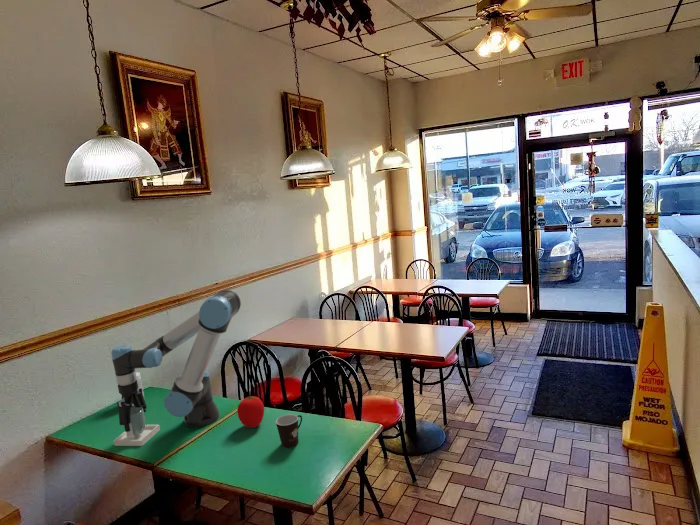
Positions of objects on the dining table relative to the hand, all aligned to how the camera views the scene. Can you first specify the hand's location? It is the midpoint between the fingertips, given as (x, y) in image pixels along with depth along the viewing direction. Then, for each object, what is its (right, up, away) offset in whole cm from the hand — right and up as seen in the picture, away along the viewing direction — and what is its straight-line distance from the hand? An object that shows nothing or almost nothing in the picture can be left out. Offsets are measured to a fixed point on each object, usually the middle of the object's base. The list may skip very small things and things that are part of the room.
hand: (136, 432), depth 205 cm
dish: (0, -2, 0) cm, 2 cm away
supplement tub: (-17, +2, +37) cm, 40 cm away
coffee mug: (+69, +2, -17) cm, 71 cm away
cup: (0, 0, 0) cm, 1 cm away
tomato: (+50, +3, 0) cm, 50 cm away
